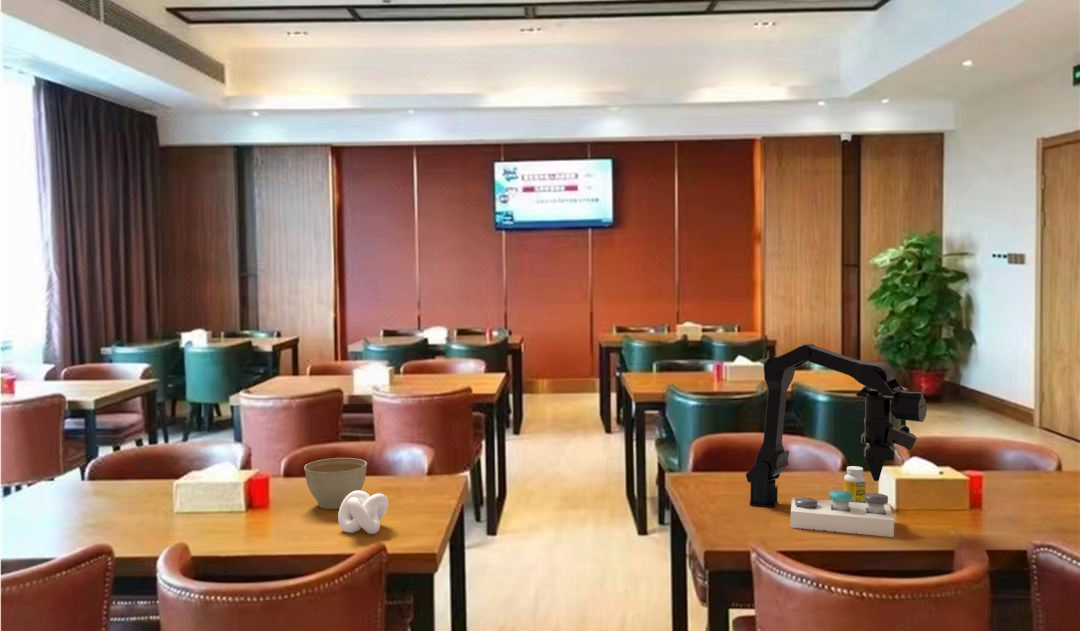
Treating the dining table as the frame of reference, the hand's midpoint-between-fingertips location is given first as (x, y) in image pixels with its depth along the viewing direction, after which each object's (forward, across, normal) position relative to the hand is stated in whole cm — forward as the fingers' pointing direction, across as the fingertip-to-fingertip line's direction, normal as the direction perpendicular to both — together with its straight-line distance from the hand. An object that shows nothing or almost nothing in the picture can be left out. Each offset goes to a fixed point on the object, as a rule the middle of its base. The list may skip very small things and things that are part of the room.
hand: (876, 480), depth 200 cm
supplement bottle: (+12, +19, +4) cm, 23 cm away
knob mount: (+12, 0, +8) cm, 14 cm away
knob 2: (+8, 0, 0) cm, 8 cm away
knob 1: (+10, 0, +16) cm, 19 cm away
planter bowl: (+12, -22, +135) cm, 137 cm away
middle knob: (+8, 0, +8) cm, 11 cm away
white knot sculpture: (+12, -39, +117) cm, 124 cm away
